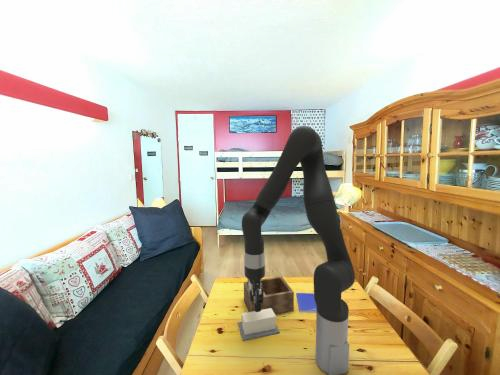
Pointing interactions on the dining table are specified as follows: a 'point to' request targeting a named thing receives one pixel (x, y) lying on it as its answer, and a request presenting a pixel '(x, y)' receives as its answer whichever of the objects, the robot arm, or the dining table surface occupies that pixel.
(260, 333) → the mat
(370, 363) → the dining table surface
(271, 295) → the wooden box
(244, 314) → the block
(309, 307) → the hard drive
